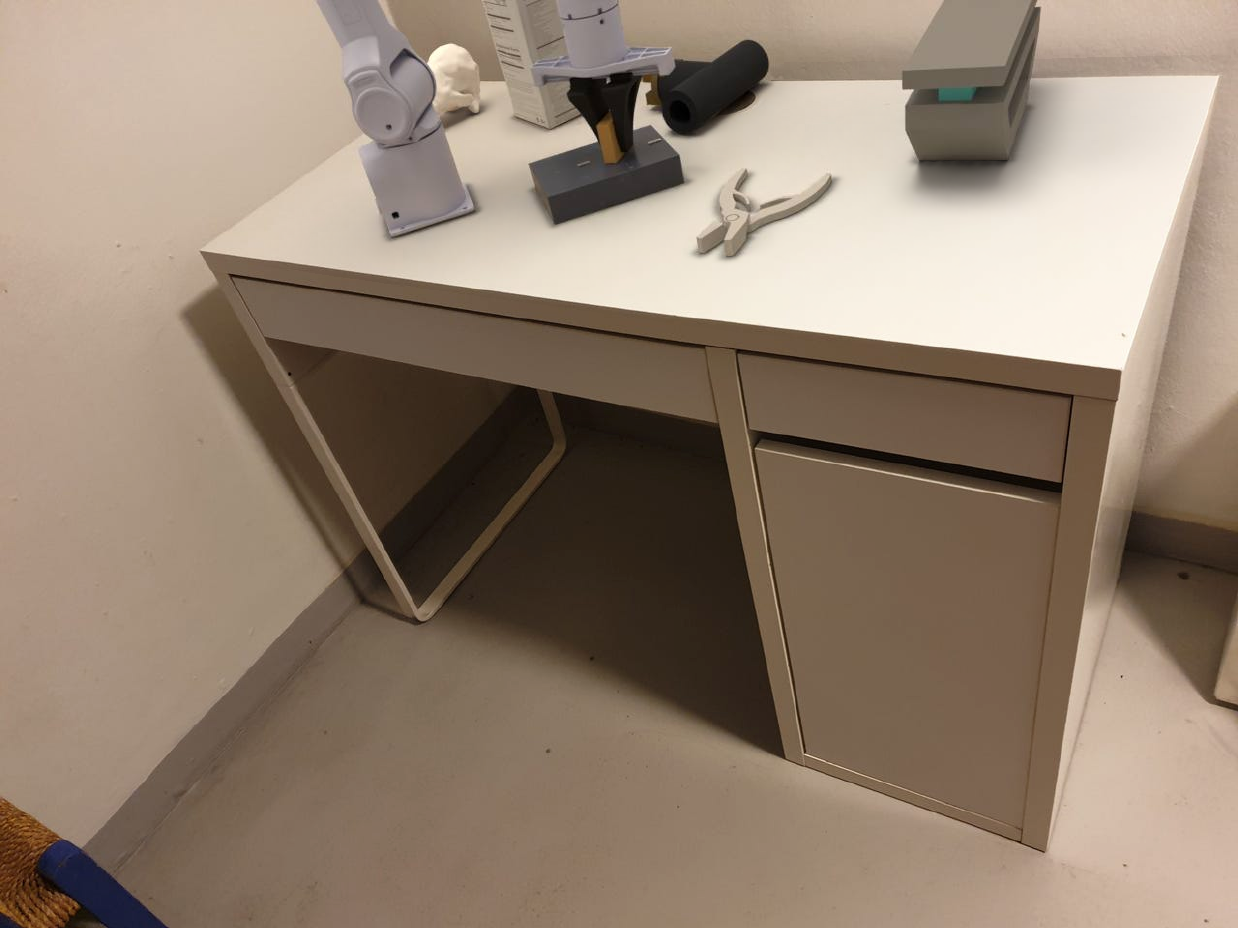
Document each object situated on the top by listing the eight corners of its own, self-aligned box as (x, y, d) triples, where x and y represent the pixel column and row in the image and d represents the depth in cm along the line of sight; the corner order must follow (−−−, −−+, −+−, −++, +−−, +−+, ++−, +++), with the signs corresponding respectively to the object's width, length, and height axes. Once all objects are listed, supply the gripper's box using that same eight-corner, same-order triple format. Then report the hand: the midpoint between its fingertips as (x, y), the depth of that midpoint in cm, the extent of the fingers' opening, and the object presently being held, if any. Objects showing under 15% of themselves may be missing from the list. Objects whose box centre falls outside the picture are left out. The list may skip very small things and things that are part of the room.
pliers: (833, 165, 85) (763, 244, 76) (834, 180, 86) (765, 260, 77) (739, 159, 90) (664, 233, 81) (741, 174, 91) (667, 249, 82)
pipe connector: (612, 83, 103) (686, 35, 111) (620, 129, 107) (691, 79, 114) (694, 90, 97) (766, 39, 105) (701, 138, 100) (770, 85, 108)
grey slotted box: (955, 84, 97) (959, -27, 90) (1035, 81, 93) (1045, -34, 86) (902, 194, 81) (902, 71, 74) (995, 195, 78) (1004, 66, 71)
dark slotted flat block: (554, 224, 91) (546, 195, 89) (535, 189, 99) (527, 162, 97) (684, 183, 92) (679, 153, 90) (655, 151, 100) (650, 123, 98)
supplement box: (572, 90, 121) (539, -49, 110) (611, 101, 115) (580, -44, 104) (512, 117, 118) (472, -23, 107) (549, 130, 111) (510, -17, 101)
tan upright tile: (617, 163, 92) (608, 122, 89) (604, 164, 92) (595, 123, 90) (633, 142, 95) (625, 102, 92) (621, 142, 96) (613, 103, 93)
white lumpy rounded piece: (472, 38, 118) (410, 83, 112) (496, 100, 123) (438, 146, 118) (440, 37, 121) (378, 81, 116) (464, 98, 127) (406, 142, 121)
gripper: (674, -14, 85) (696, 128, 93) (538, 4, 90) (570, 136, 99) (650, 12, 80) (675, 158, 89) (508, 28, 86) (545, 165, 94)
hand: (618, 148), depth 93 cm, fingers closed on tan upright tile
